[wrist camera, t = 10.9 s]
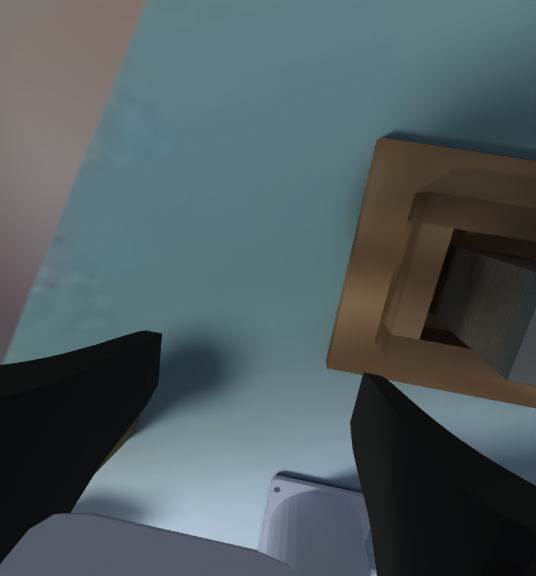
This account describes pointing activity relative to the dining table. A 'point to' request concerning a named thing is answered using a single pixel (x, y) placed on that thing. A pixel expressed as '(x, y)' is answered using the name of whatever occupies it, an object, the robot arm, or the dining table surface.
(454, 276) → the metal pin
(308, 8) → the dining table surface
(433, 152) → the socket holder
